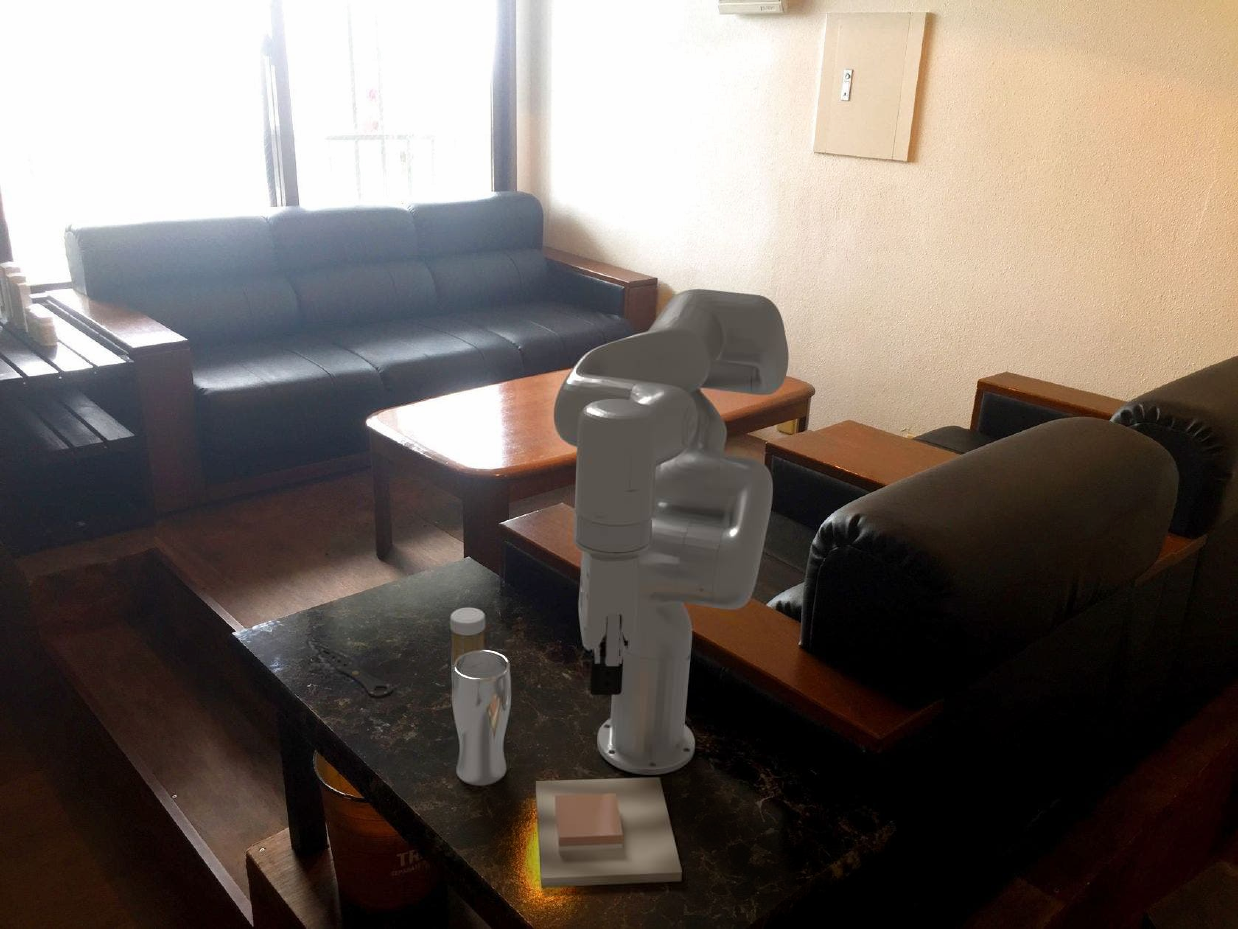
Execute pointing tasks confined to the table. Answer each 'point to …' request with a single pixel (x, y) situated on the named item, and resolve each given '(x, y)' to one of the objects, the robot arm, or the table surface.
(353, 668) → the throwing knife
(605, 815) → the tile
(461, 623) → the sprinkles bottle
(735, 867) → the table surface
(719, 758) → the table surface
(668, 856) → the board
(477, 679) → the beer glass
